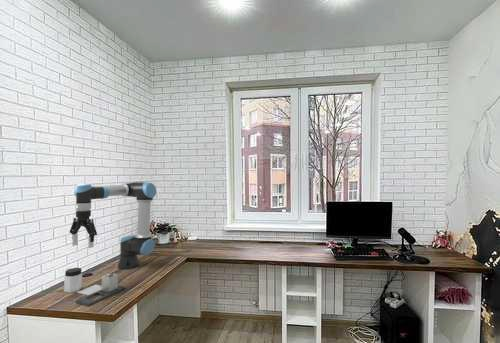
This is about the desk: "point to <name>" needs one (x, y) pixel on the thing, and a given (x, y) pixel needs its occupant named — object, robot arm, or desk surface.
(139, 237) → the robot arm
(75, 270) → the jar
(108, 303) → the desk surface
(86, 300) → the rack rail
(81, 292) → the parts mat
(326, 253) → the desk surface
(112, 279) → the pale translucent bottle
